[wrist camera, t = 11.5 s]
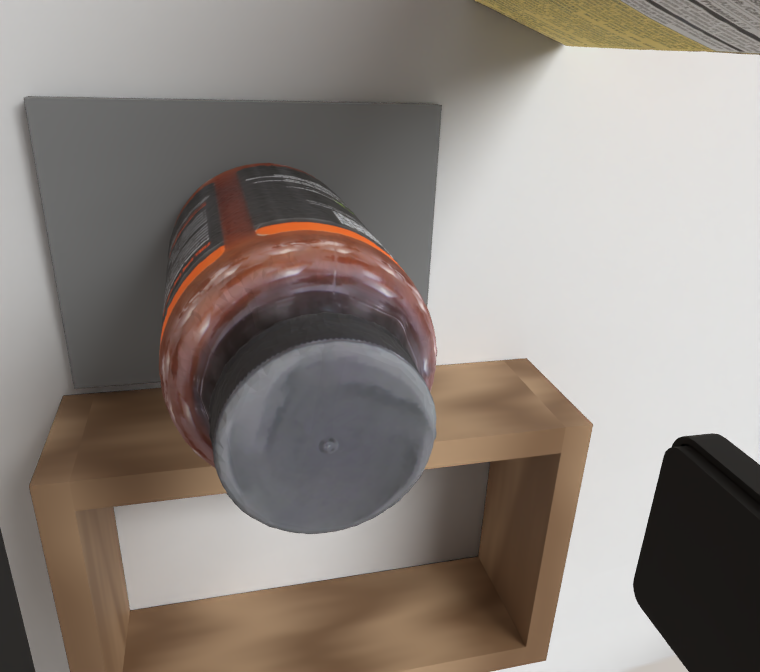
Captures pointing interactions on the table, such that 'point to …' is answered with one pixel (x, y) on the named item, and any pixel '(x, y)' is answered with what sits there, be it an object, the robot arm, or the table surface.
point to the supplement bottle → (295, 352)
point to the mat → (181, 180)
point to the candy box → (642, 23)
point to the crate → (329, 597)
